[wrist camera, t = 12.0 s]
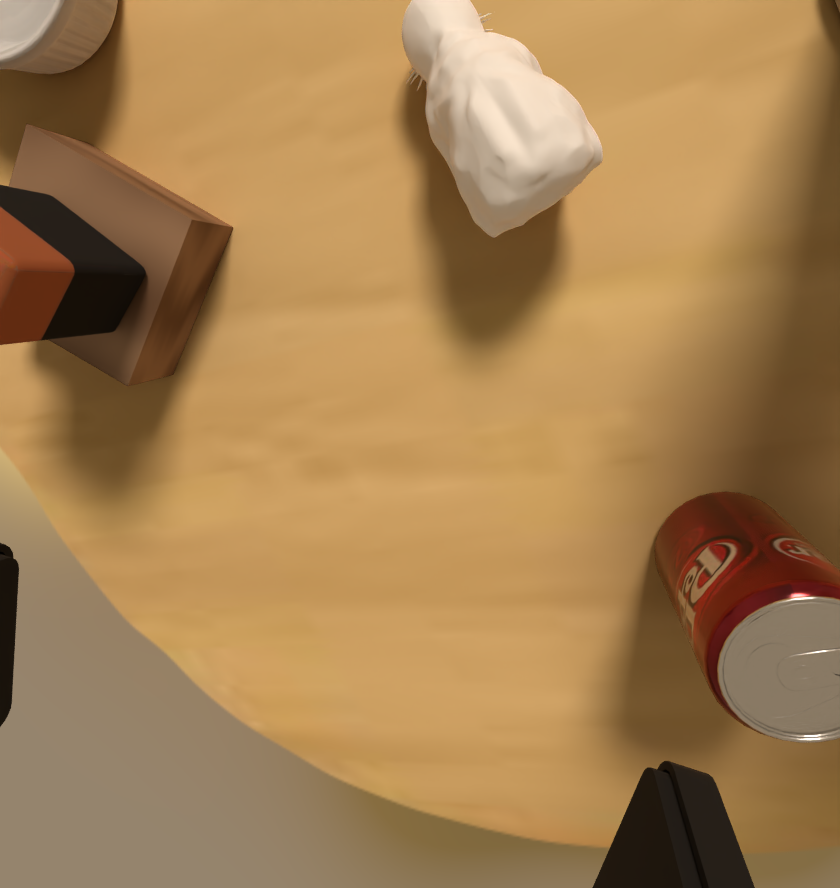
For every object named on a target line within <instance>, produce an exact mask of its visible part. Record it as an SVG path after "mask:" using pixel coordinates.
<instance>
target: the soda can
mask: <svg viewBox="0 0 840 888" xmlns="http://www.w3.org/2000/svg"><path fill="white" fill-rule="evenodd" d="M655 561H656V566H657V569H658V572H659V575H660V577H661V579H662V582H663V584H664V586H665V588H666V591H667V593H668V595H669V598H670V600H671V602H672V604H673V607H674V609H675V611H676V613H677V616H678V618H679V620H680V622H681V625H682V627H683V629H684V631H685V634H686V636H687V638H688V640H689V643H690V645H691V647H692V649H693V652H694V654H695V656H696V658H697V661H698V663H699V665H700V667H701V670H702V672H703V674H704V676H705V679H706V681H707V683H708V685H709V688H710V689H711V691H712V693H713V695H714V696H715V698H716V700H717V702H718V703H719V704H720V705H721V706H722V707H723V708H724V709H725V710H726V712H727V713H728V714H730V715H731V716H732V717H734V718H735V719H736V720H738V721H739V722H740V723H742V724H743V725H744V726H746V727H748V728H750V729H752V730H754V731H756V732H758V733H760V734H764V735H767V736H770V737H773V738H776V739H781V740H786V741H793V742H822V741H828V740H835V739H838V738H840V570H839V569H838V568H837V567H835V566H834V565H833V564H832V563H831V562H830V561H829V560H828V559H827V558H826V557H825V556H824V555H823V554H821V553H820V552H819V551H818V550H817V549H816V548H815V547H814V546H813V545H812V544H811V543H810V542H808V541H807V540H806V539H805V538H804V537H803V536H802V535H801V534H800V533H799V532H798V531H797V530H795V529H794V528H793V527H792V526H791V525H790V524H789V523H788V522H787V521H786V520H785V519H784V518H783V517H781V516H780V515H779V514H778V513H777V512H776V511H775V510H774V509H772V508H771V507H770V506H768V505H767V504H766V503H764V502H762V501H760V500H758V499H756V498H754V497H752V496H748V495H745V494H741V493H734V492H716V493H709V494H706V495H702V496H698V497H696V498H694V499H692V500H690V501H687V502H686V503H684V504H683V505H681V506H680V507H679V508H677V509H676V510H675V511H674V512H673V513H672V514H671V515H670V516H669V517H668V518H667V519H666V521H665V522H664V524H663V526H662V527H661V529H660V531H659V534H658V536H657V539H656V545H655Z"/></svg>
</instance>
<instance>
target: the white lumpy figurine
mask: <svg viewBox="0 0 840 888" xmlns="http://www.w3.org/2000/svg"><path fill="white" fill-rule="evenodd" d="M490 14H491V13H489V14H487V15H490ZM479 15H481V14H478V13H477V11H476V9H475V7H474V6H473V4H472V3H471V1H470V0H412V1H411V2H410V4H409V6H408V8H407V10H406V12H405V15H404V19H403V24H402V40H403V45H404V49H405V52H406V55H407V57H408V59H409V61H410V63H411V65H412V66H413V68H412V69H411V71H410V72H412V71H413V70H414V69H415V71H414V72H413V73H412V74H411V75H410V77H409V79H408V80H407V82H408V81H409V80H410V78H411V77H412V76H413V75H414V74H415V73H416V75H415V77H414V78H413V80H412V81H411V83H412V82H413V81H414V80H415V78H417V76H419V75H420V76H421V77H422V78H421V80H420V82H419V85H418V89H419V87H420V86H421V85H422V84H421V83H422V81H423V80H425V81H426V82H427V83H426V90H427V98H426V107H425V113H426V119H427V123H428V126H429V133H430V137H431V139H432V141H433V143H434V144H435V146H436V147H437V149H438V150H439V151H440V153H441V154H442V156H443V157H444V159H445V160H446V162H447V164H448V166H449V168H450V170H451V172H452V174H453V176H454V178H455V181H456V184H457V188H458V190H459V193H460V195H461V197H462V199H463V201H464V202H465V204H466V205H467V207H468V210H469V212H470V215H471V217H472V219H473V221H474V222H475V224H477V225H478V226H480V227H481V229H482V230H483V231H484V232H486V233H487V234H488V235H490V236H491V237H493V238H495V237H497V236H498V235H500V234H501V233H503V232H505V231H507V230H510V229H513V228H516V227H519V226H522V225H524V224H525V223H526V222H527V221H528V220H529V219H531V218H532V217H534V216H535V215H537V214H538V213H540V212H542V211H544V210H546V209H548V208H549V207H551V206H552V205H554V204H555V203H557V202H558V201H559V200H560V199H561V198H562V197H563V196H566V195H568V194H569V193H571V192H572V191H573V189H574V188H575V187H576V186H578V185H579V184H580V183H581V182H582V181H583V180H584V179H585V178H586V176H587V175H588V174H589V173H590V172H591V171H592V170H593V169H594V168H596V167H597V166H598V165H600V164H601V163H602V160H603V151H602V146H601V143H600V141H599V138H598V136H597V134H596V132H595V131H594V129H593V127H592V126H591V124H590V123H589V122H588V120H587V118H586V116H585V114H584V111H583V109H582V108H581V106H580V104H579V103H578V101H577V100H576V99H575V98H574V97H573V96H572V95H571V94H570V93H569V92H568V91H567V90H566V89H565V88H564V87H563V86H561V85H560V84H558V83H556V82H555V81H554V80H553V79H551V78H549V77H547V76H544V75H543V73H542V70H541V68H540V65H539V63H538V61H537V59H536V58H535V56H534V55H533V54H532V53H530V51H529V50H528V49H527V48H526V47H525V46H524V45H523V44H522V43H520V42H519V41H517V40H515V39H513V38H509V37H506V36H503V35H500V34H497V33H492V32H488V33H486V31H491V30H493V29H485V30H484V29H483V26H482V23H484V22H486V21H488V20H490V19H491V18H489V19H486V20H484V21H481V19H483V18H485V17H486V16H487V15H484V16H481V17H480V18H479ZM411 83H410V85H411ZM420 84H421V85H420ZM418 89H417V91H418Z"/></svg>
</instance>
